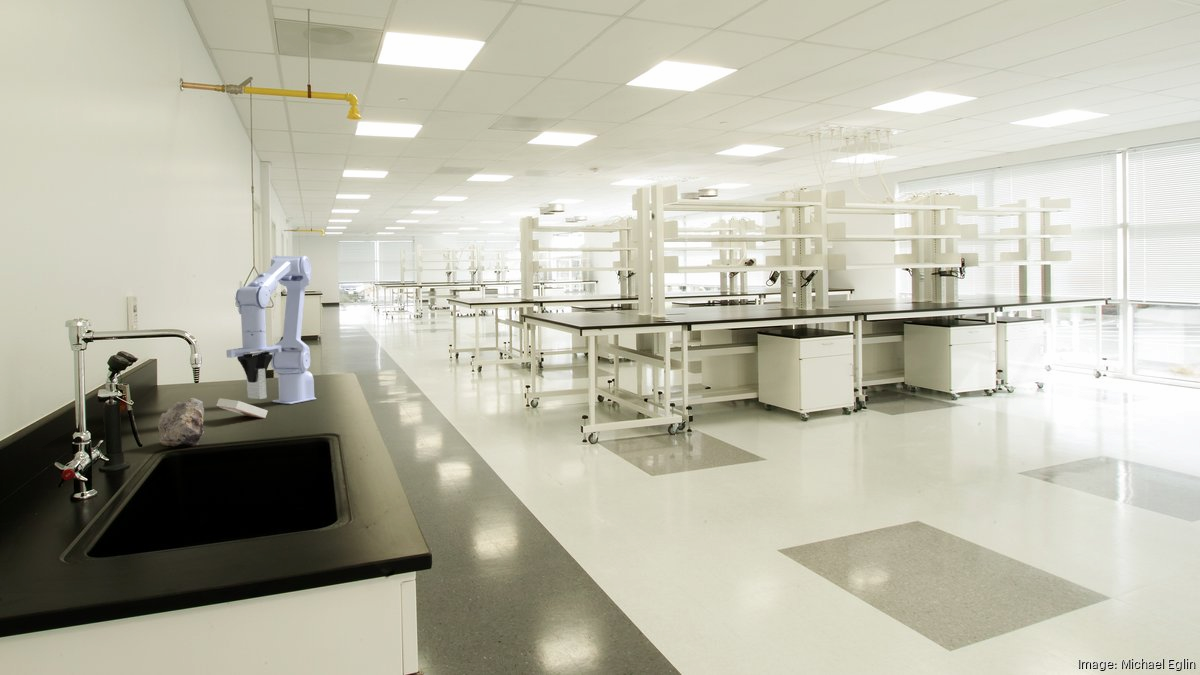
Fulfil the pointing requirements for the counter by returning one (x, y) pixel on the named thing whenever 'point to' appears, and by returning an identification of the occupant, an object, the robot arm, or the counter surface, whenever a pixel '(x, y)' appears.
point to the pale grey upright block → (257, 385)
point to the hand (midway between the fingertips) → (256, 381)
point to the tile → (242, 408)
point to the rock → (182, 423)
